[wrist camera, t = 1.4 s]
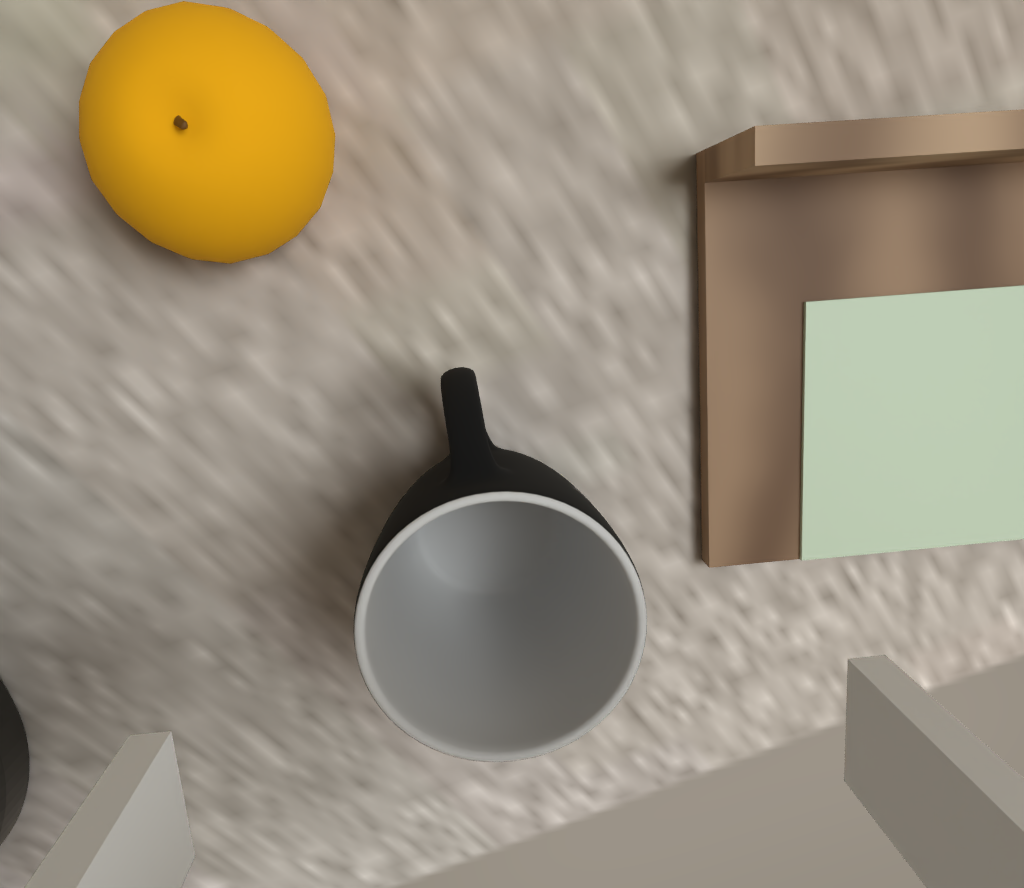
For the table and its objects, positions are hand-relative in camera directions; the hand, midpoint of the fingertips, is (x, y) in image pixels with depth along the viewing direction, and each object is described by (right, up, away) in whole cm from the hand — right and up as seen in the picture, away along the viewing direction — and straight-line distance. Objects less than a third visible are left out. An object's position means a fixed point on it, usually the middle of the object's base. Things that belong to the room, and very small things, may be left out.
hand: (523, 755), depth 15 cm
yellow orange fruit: (-10, +17, +14) cm, 25 cm away
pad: (+18, +7, +18) cm, 26 cm away
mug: (-2, +4, +18) cm, 18 cm away
